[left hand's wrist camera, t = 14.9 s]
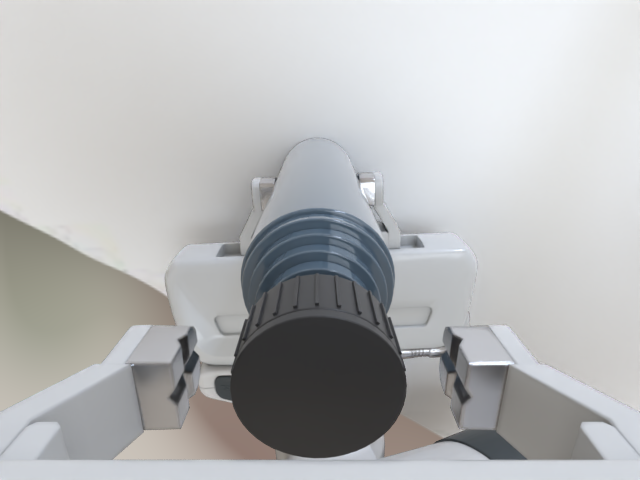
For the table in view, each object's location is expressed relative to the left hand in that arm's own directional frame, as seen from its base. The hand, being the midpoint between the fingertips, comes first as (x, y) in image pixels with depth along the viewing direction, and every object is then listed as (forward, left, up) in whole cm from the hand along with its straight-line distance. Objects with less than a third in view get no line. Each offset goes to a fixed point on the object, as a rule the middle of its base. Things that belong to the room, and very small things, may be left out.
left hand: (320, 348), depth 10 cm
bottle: (0, 0, -22) cm, 22 cm away
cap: (0, 0, +1) cm, 1 cm away
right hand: (0, +1, -17) cm, 17 cm away
